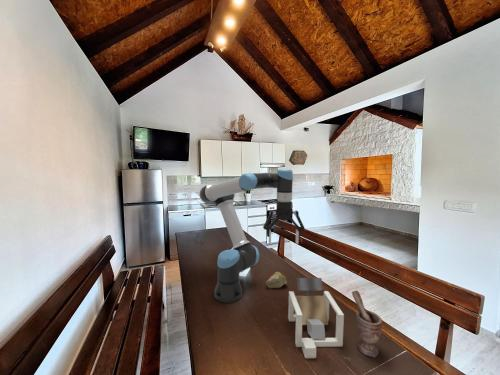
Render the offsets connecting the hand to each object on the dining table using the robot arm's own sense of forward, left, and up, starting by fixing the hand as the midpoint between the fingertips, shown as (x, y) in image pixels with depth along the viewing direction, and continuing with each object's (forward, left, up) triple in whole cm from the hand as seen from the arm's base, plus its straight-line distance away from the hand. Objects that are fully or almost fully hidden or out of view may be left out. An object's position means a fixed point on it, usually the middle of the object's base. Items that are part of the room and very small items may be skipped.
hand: (283, 243), depth 107 cm
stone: (+10, -19, -29) cm, 36 cm away
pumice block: (+5, -30, -32) cm, 44 cm away
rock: (-1, +18, -32) cm, 37 cm away
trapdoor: (+10, -14, -21) cm, 27 cm away
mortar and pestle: (+27, -27, -32) cm, 50 cm away
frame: (+10, -19, -32) cm, 38 cm away
